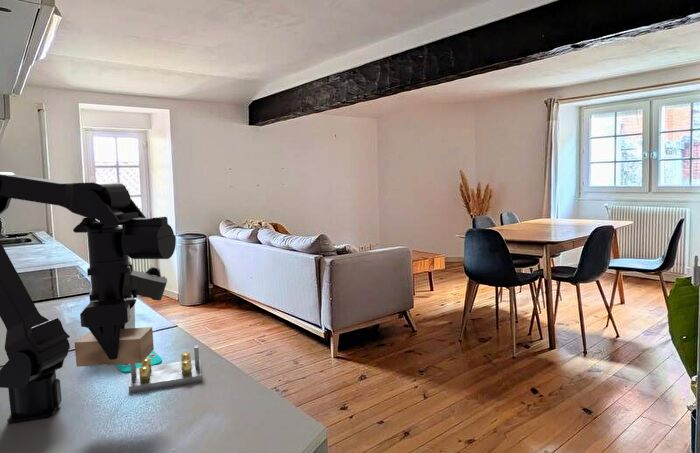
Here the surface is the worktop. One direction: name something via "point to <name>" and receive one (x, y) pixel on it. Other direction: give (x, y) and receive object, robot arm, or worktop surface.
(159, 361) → the handheld gaming console
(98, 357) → the tan block
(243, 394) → the worktop surface
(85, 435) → the worktop surface
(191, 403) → the worktop surface
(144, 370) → the chassis
